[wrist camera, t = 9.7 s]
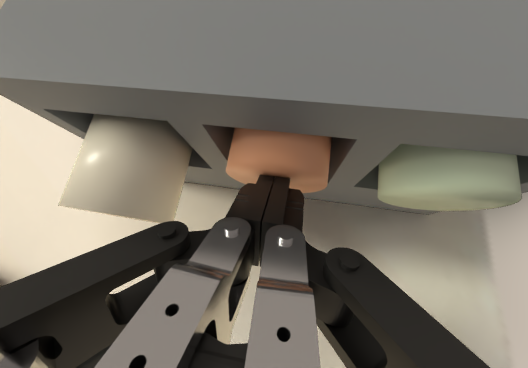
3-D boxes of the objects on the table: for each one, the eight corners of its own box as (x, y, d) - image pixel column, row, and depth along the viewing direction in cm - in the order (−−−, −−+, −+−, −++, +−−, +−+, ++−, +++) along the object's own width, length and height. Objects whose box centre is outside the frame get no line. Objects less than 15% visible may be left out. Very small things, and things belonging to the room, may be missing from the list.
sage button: (367, 124, 14) (408, 63, 9) (454, 132, 14) (545, 70, 9) (363, 202, 13) (408, 176, 8) (459, 214, 12) (568, 194, 8)
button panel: (176, 111, 23) (39, -58, 10) (426, 133, 19) (676, -69, 7) (157, 178, 21) (-39, 74, 8) (428, 214, 18) (765, 137, 5)
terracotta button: (251, 115, 15) (235, 54, 10) (327, 122, 15) (346, 61, 10) (237, 186, 14) (211, 155, 9) (319, 197, 13) (338, 169, 9)
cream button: (137, 143, 16) (70, 97, 11) (206, 151, 15) (168, 105, 10) (113, 215, 14) (25, 200, 9) (187, 227, 14) (134, 217, 9)
